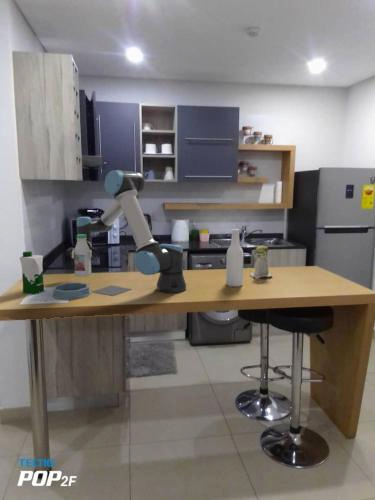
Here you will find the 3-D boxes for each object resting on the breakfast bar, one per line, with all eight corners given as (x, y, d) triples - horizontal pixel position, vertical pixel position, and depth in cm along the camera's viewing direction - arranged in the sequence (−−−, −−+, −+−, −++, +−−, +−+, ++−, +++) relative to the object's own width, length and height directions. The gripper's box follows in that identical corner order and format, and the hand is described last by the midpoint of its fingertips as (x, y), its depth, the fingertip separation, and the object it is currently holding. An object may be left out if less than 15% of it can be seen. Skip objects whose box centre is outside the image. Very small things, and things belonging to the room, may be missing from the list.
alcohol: (245, 285, 192) (247, 229, 187) (233, 287, 187) (234, 230, 182) (235, 281, 199) (236, 228, 194) (222, 284, 195) (223, 228, 190)
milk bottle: (85, 272, 181) (83, 233, 178) (94, 275, 177) (93, 234, 173) (71, 275, 176) (69, 234, 172) (80, 277, 171) (78, 236, 167)
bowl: (98, 292, 177) (98, 285, 176) (70, 301, 162) (69, 293, 161) (73, 287, 186) (72, 280, 185) (44, 296, 171) (44, 288, 170)
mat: (131, 289, 183) (131, 289, 183) (112, 296, 171) (112, 295, 171) (111, 285, 190) (110, 285, 190) (91, 291, 178) (91, 291, 178)
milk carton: (31, 289, 183) (28, 250, 179) (47, 290, 181) (44, 251, 178) (19, 294, 174) (17, 253, 171) (36, 295, 172) (34, 254, 169)
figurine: (276, 278, 208) (277, 246, 206) (256, 279, 204) (257, 247, 201) (265, 273, 220) (266, 244, 217) (246, 275, 216) (247, 244, 213)
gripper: (103, 254, 194) (103, 262, 173) (64, 255, 190) (59, 263, 168) (103, 240, 193) (103, 246, 171) (63, 241, 189) (58, 247, 167)
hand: (81, 255), depth 170 cm, fingers closed on milk bottle, 7 cm apart
